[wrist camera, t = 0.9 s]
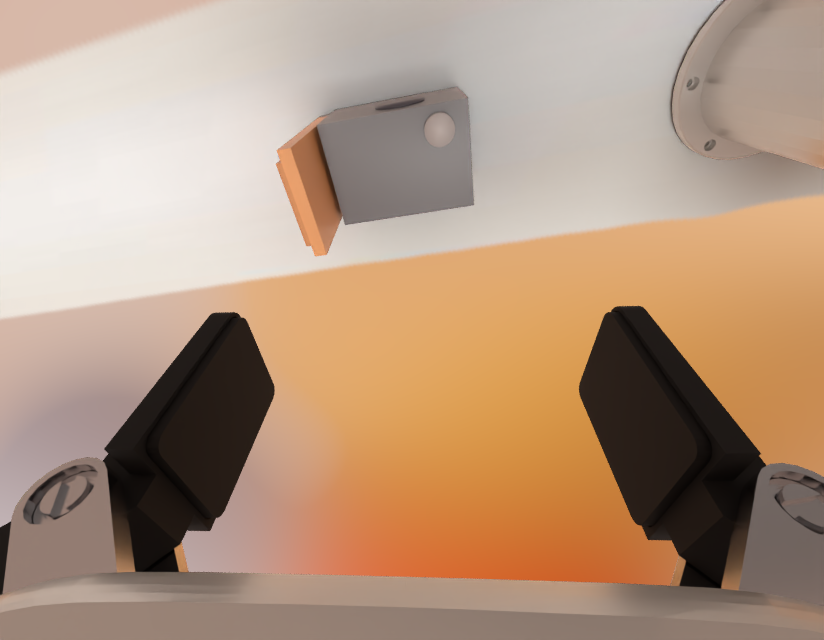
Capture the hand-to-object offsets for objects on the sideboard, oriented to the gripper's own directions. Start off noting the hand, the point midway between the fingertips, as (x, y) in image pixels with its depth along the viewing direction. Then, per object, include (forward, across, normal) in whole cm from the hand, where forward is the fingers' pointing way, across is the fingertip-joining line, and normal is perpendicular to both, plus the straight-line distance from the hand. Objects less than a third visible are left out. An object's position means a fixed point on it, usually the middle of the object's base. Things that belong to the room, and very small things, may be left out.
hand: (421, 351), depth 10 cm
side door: (+25, +8, +1) cm, 26 cm away
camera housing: (+26, +2, 0) cm, 26 cm away
